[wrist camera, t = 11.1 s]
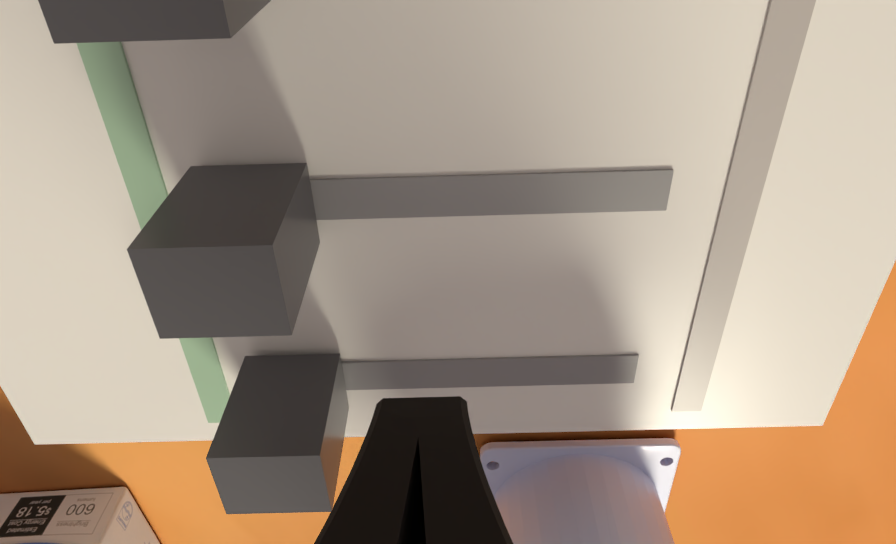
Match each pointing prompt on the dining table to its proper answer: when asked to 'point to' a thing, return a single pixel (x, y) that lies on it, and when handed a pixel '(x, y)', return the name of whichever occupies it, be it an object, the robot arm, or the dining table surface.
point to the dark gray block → (229, 252)
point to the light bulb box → (73, 518)
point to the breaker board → (467, 208)
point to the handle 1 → (146, 19)
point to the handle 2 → (281, 435)
